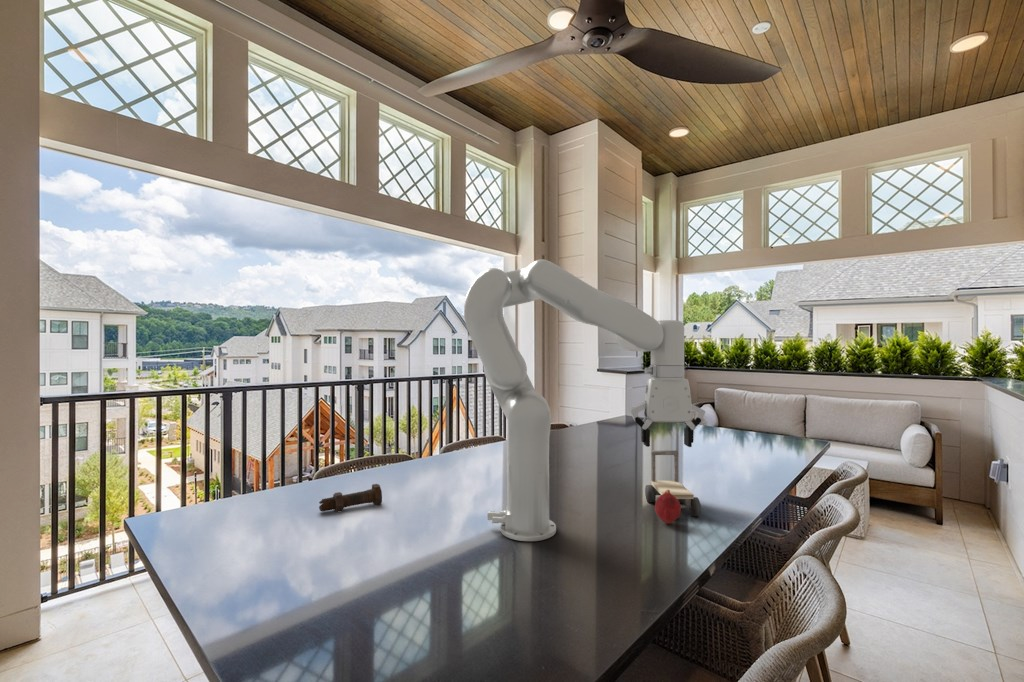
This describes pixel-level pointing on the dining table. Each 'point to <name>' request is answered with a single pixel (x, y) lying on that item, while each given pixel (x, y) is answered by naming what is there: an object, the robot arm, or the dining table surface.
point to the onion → (667, 507)
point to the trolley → (671, 486)
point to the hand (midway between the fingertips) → (667, 445)
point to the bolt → (352, 499)
